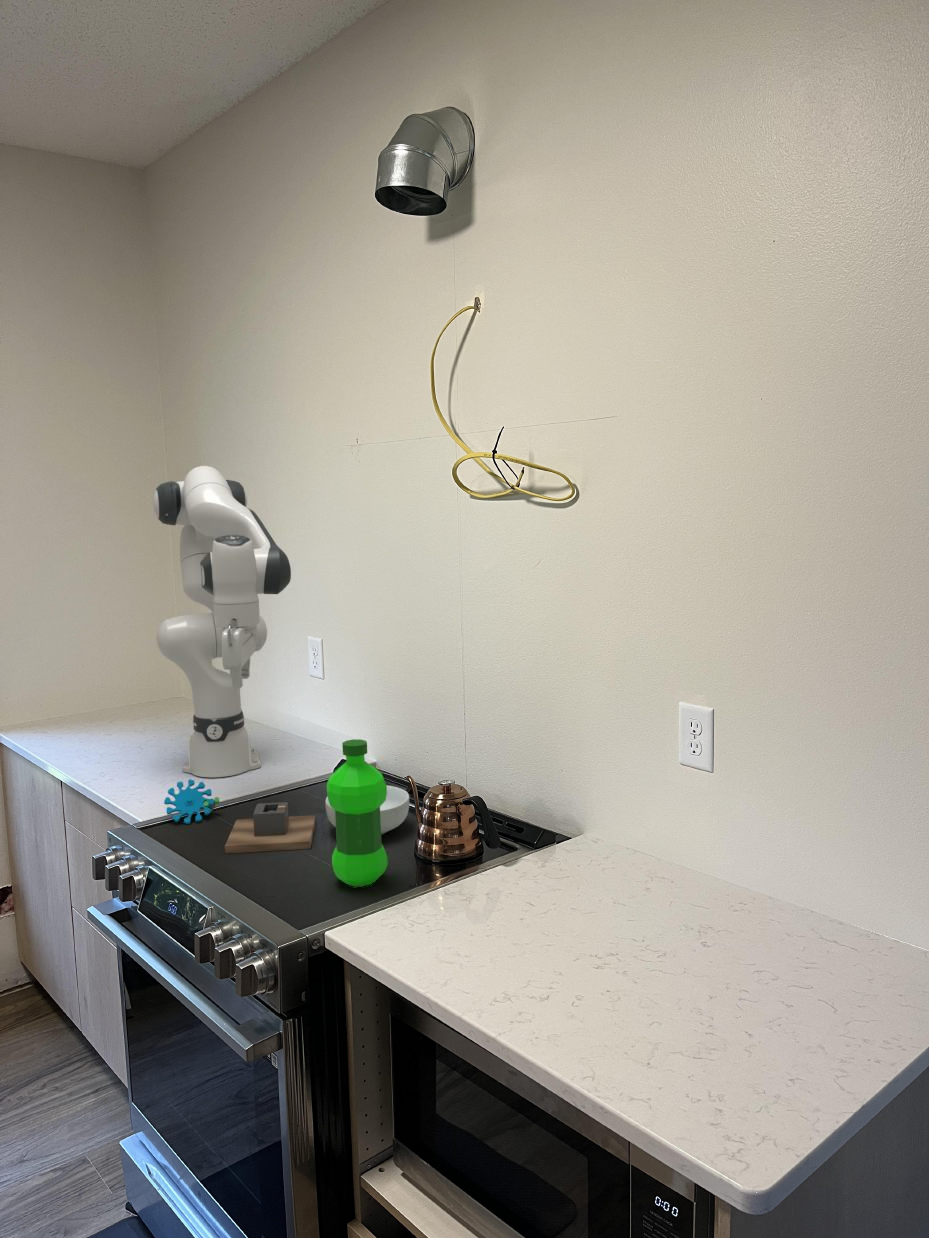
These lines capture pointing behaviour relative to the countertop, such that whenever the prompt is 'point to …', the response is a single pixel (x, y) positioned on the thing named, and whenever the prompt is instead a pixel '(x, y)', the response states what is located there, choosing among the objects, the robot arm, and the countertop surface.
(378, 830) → the plastic bottle
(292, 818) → the shaft base
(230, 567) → the robot arm
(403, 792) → the cereal bowl
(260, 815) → the gray open-top tub
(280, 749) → the countertop surface
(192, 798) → the gear
